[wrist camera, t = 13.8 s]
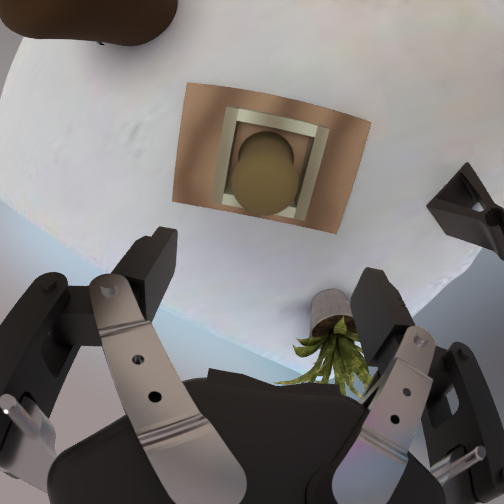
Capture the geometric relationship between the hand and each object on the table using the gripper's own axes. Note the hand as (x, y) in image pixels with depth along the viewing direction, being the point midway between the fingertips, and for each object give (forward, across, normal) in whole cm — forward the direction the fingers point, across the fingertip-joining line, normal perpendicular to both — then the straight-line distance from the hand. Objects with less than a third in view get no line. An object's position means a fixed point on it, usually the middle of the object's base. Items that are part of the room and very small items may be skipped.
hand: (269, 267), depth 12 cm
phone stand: (+22, -26, -2) cm, 34 cm away
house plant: (+22, -12, +19) cm, 32 cm away
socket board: (+22, 0, 0) cm, 22 cm away
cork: (+21, 0, 0) cm, 21 cm away
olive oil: (+22, +18, -16) cm, 33 cm away
